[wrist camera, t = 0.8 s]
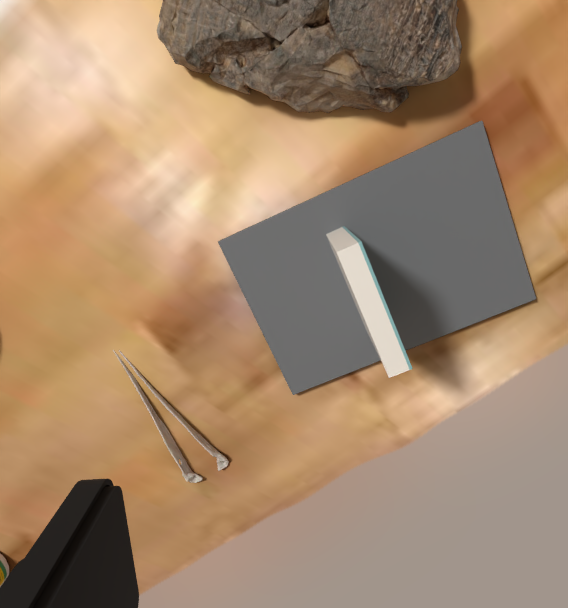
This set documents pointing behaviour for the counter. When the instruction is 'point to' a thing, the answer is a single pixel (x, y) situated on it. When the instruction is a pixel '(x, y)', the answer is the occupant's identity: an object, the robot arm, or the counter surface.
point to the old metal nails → (167, 437)
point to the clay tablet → (316, 47)
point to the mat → (385, 259)
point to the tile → (369, 300)
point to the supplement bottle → (3, 569)
